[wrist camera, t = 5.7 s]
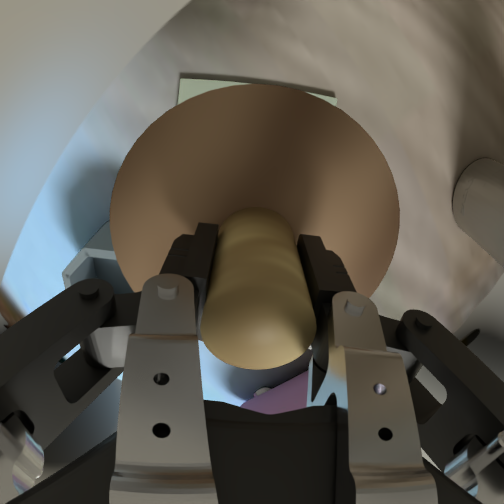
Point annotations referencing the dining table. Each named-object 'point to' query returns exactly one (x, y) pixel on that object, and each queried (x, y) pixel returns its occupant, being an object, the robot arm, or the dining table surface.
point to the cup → (97, 263)
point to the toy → (281, 397)
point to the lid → (256, 210)
